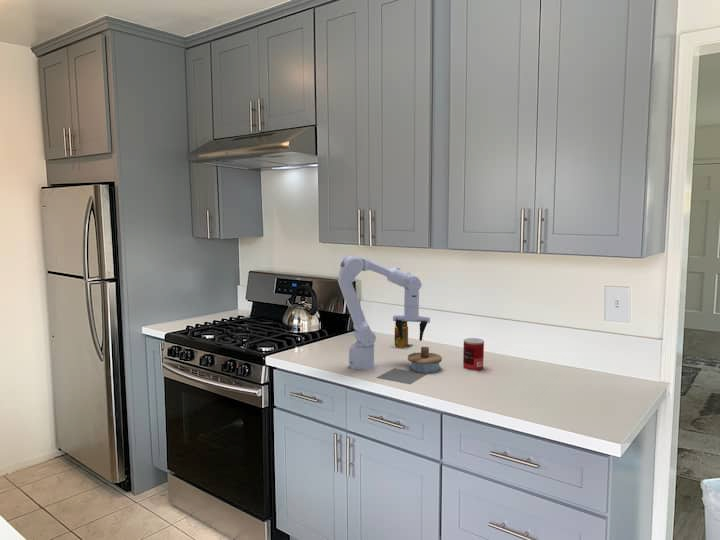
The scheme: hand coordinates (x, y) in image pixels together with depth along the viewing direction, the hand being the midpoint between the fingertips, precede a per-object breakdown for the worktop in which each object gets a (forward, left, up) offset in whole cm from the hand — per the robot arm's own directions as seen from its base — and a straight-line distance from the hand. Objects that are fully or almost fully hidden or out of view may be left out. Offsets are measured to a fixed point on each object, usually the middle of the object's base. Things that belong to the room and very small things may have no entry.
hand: (411, 339), depth 218 cm
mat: (+5, -17, -10) cm, 20 cm away
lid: (+8, -4, -6) cm, 11 cm away
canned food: (+23, +8, -10) cm, 26 cm away
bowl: (+8, -4, -10) cm, 13 cm away
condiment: (-16, +23, -10) cm, 30 cm away
